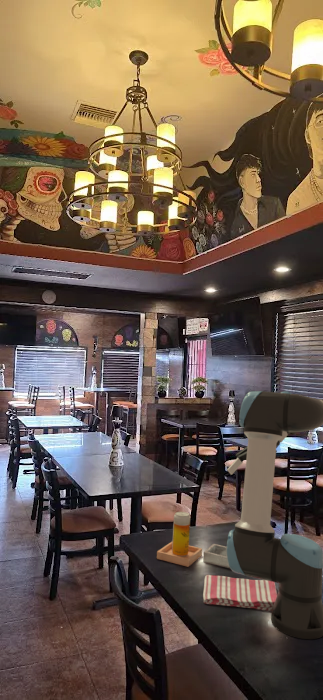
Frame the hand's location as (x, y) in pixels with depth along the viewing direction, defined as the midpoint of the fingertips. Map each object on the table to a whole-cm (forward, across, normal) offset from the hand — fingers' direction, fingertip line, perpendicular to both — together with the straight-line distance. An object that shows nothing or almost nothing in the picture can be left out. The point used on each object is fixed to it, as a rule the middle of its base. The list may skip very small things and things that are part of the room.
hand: (238, 476), depth 184 cm
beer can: (+36, +3, -5) cm, 36 cm away
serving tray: (+36, +3, -6) cm, 37 cm away
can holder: (+26, -4, -16) cm, 31 cm away
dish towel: (+32, -29, -11) cm, 44 cm away
